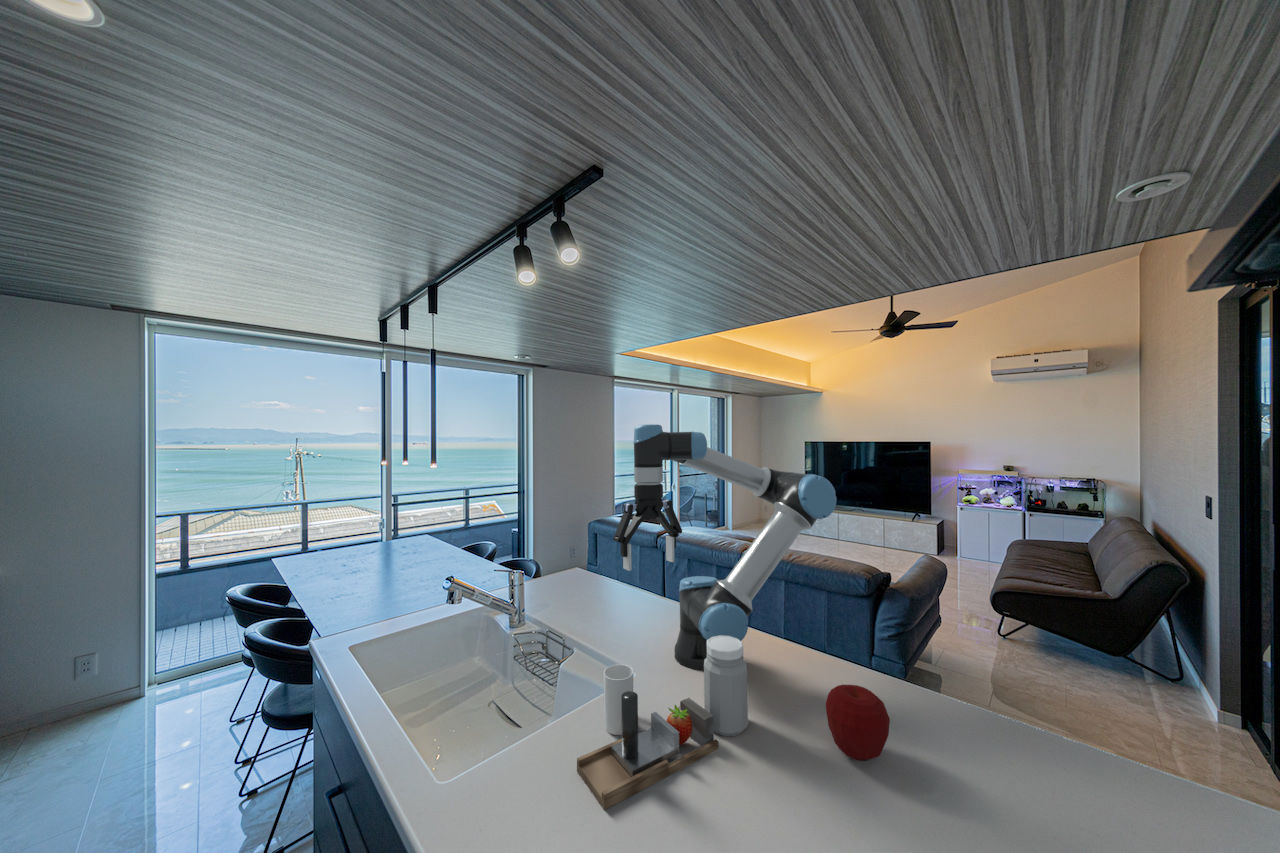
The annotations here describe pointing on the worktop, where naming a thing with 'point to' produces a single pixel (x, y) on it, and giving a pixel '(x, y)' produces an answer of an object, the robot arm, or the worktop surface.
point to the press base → (618, 784)
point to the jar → (726, 685)
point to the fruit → (681, 723)
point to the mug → (616, 695)
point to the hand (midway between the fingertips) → (649, 565)
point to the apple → (857, 721)
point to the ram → (643, 739)
